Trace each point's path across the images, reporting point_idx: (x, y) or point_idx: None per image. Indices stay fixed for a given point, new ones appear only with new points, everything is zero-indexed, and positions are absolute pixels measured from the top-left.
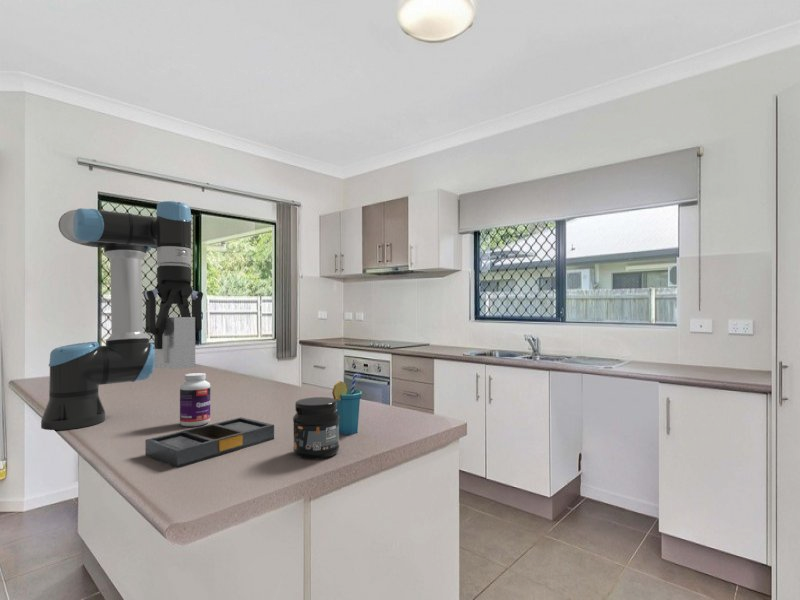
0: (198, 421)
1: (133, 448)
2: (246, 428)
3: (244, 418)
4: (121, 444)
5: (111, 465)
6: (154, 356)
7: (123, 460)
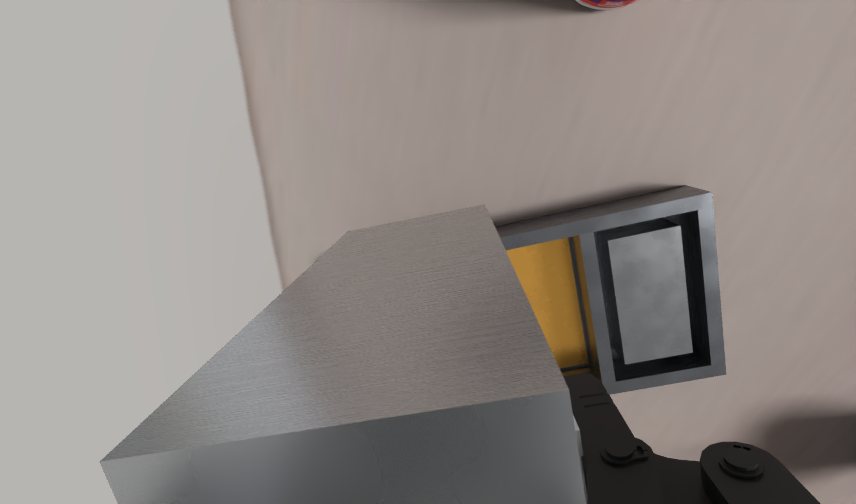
0: (604, 7)
1: (348, 155)
2: (648, 330)
3: (709, 221)
4: (323, 76)
5: (284, 279)
6: (329, 250)
7: (312, 257)
